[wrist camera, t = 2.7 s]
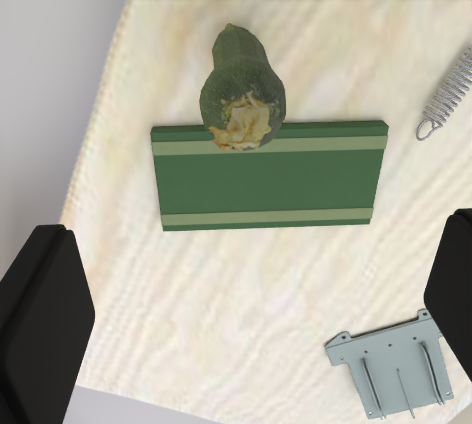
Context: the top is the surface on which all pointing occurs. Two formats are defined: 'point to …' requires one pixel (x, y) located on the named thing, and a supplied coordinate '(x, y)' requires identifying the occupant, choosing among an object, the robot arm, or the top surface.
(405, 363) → the metal bracket
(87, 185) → the top surface
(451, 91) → the spring
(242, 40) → the vegetable
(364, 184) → the green rectangular slab
